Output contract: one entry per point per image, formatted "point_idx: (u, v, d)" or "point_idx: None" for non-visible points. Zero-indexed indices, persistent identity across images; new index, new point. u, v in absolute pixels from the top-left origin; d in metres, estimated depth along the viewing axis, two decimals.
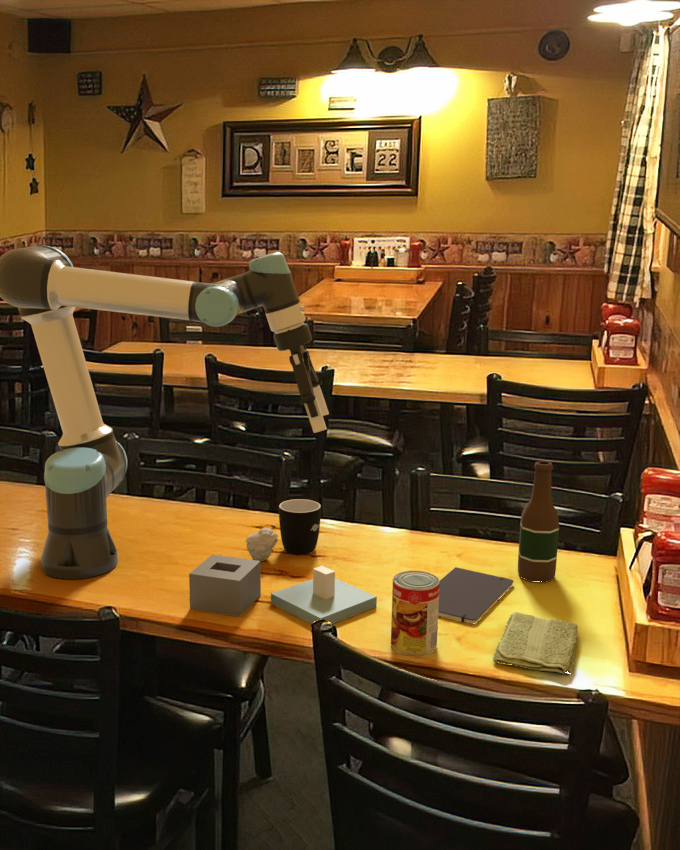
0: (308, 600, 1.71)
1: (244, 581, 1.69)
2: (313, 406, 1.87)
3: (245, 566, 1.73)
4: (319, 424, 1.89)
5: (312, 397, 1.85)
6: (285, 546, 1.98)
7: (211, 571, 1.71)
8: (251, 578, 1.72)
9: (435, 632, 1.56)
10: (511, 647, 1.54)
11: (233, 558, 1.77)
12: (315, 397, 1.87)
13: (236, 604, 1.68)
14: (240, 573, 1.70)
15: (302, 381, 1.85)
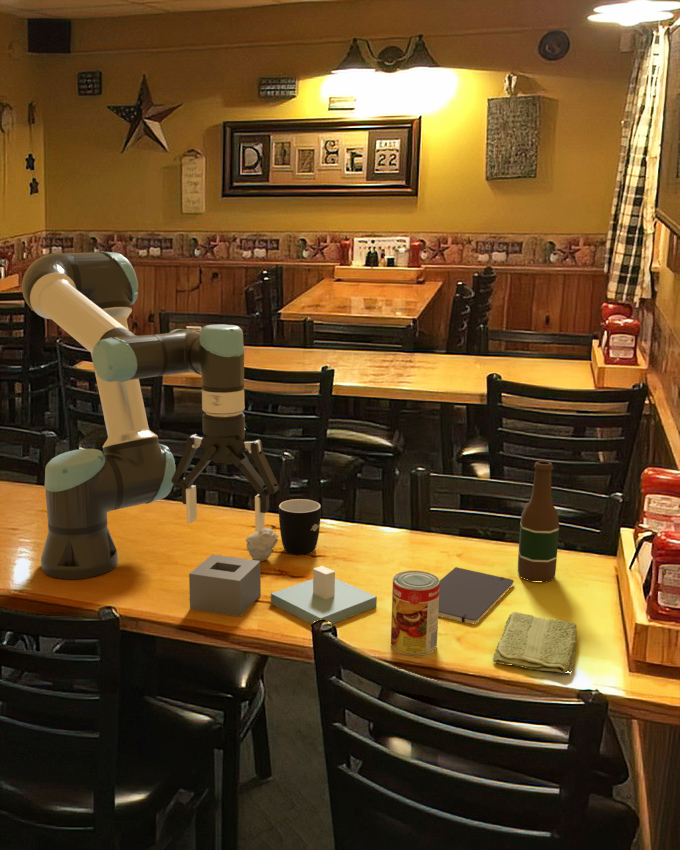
0: (308, 600, 1.71)
1: (244, 581, 1.69)
2: None
3: (245, 566, 1.73)
4: None
5: None
6: (285, 546, 1.98)
7: (211, 571, 1.71)
8: (251, 578, 1.72)
9: (435, 632, 1.56)
10: (511, 647, 1.54)
11: (233, 558, 1.77)
12: (182, 485, 1.70)
13: (236, 604, 1.68)
14: (240, 573, 1.70)
15: None
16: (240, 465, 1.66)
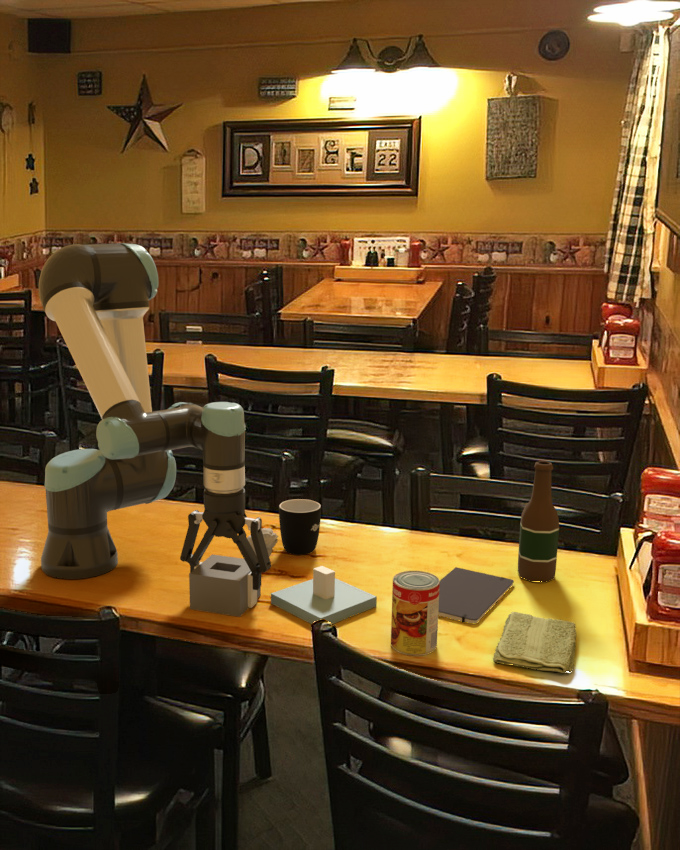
0: (308, 600, 1.71)
1: (244, 581, 1.69)
2: None
3: (245, 566, 1.73)
4: None
5: None
6: (285, 546, 1.98)
7: (211, 571, 1.71)
8: None
9: (435, 632, 1.56)
10: (511, 647, 1.54)
11: (233, 558, 1.77)
12: (190, 563, 1.73)
13: (236, 604, 1.68)
14: (240, 573, 1.70)
15: None
16: (238, 541, 1.69)
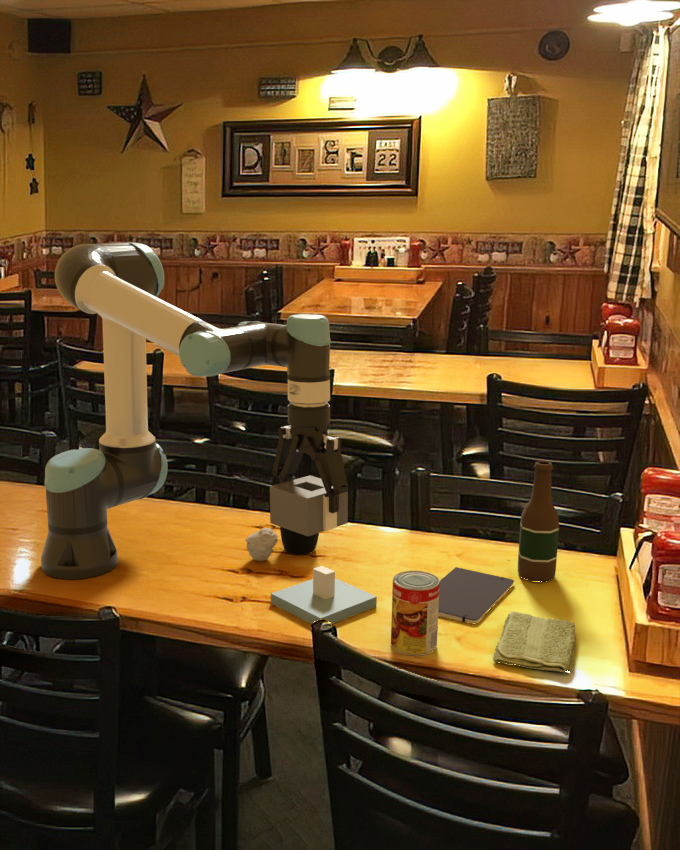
0: (308, 600, 1.71)
1: (317, 500, 1.63)
2: None
3: None
4: None
5: None
6: (285, 546, 1.98)
7: (291, 487, 1.67)
8: None
9: (435, 632, 1.56)
10: (511, 647, 1.54)
11: None
12: (280, 479, 1.71)
13: (305, 523, 1.63)
14: (316, 492, 1.64)
15: None
16: (315, 459, 1.64)
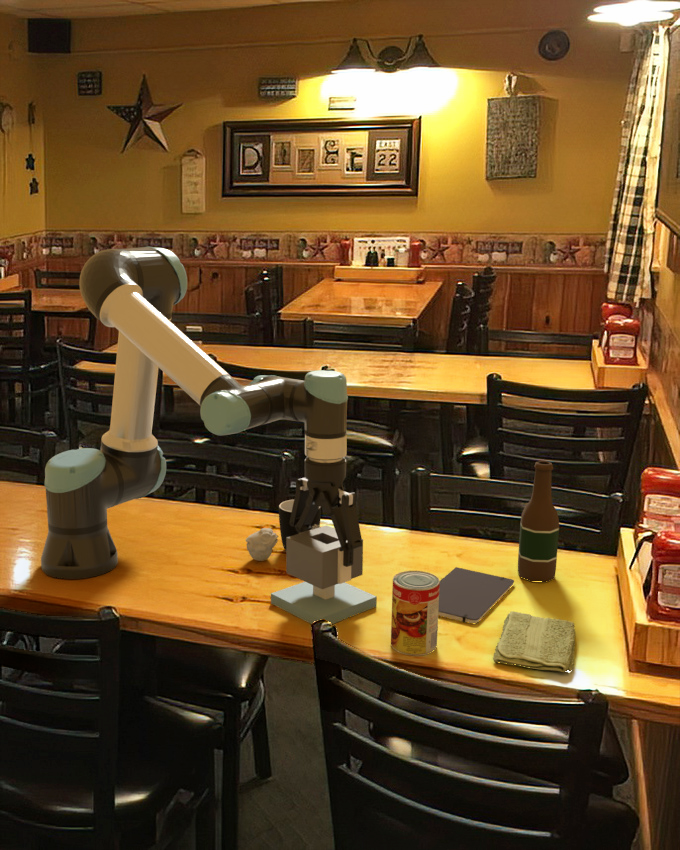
0: (308, 600, 1.71)
1: (332, 554, 1.66)
2: None
3: None
4: None
5: None
6: (285, 546, 1.98)
7: (307, 539, 1.70)
8: None
9: (435, 632, 1.56)
10: (511, 647, 1.54)
11: None
12: (296, 529, 1.74)
13: (320, 576, 1.65)
14: (331, 546, 1.67)
15: None
16: (331, 513, 1.66)
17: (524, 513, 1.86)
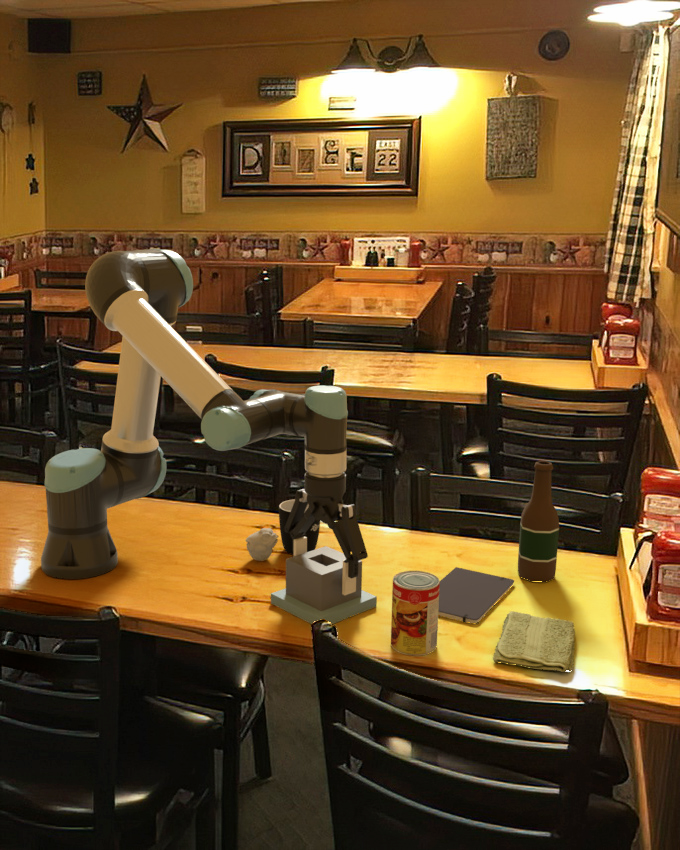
0: None
1: (331, 576, 1.67)
2: None
3: (342, 563, 1.70)
4: None
5: None
6: (285, 546, 1.98)
7: (307, 561, 1.71)
8: None
9: (435, 632, 1.56)
10: (511, 647, 1.54)
11: (340, 553, 1.75)
12: (291, 535, 1.76)
13: (319, 598, 1.66)
14: (330, 568, 1.68)
15: None
16: (332, 527, 1.66)
17: (524, 513, 1.86)
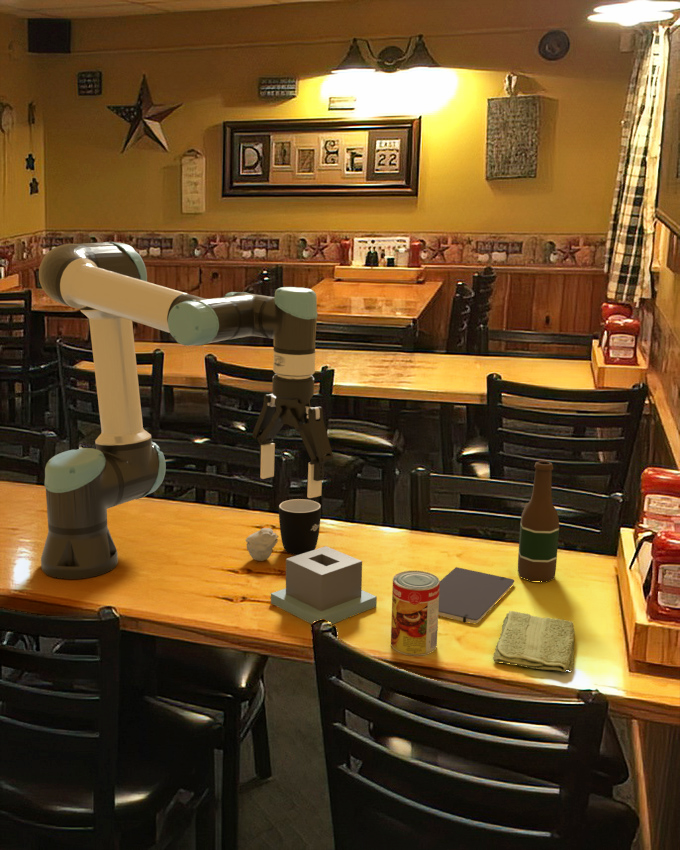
0: None
1: (331, 576, 1.67)
2: None
3: (342, 563, 1.70)
4: None
5: None
6: (285, 546, 1.98)
7: (307, 561, 1.71)
8: (344, 576, 1.69)
9: (435, 632, 1.56)
10: (511, 647, 1.54)
11: (340, 553, 1.75)
12: (258, 441, 1.75)
13: (319, 598, 1.66)
14: (330, 568, 1.68)
15: None
16: (299, 429, 1.66)
17: (524, 513, 1.86)
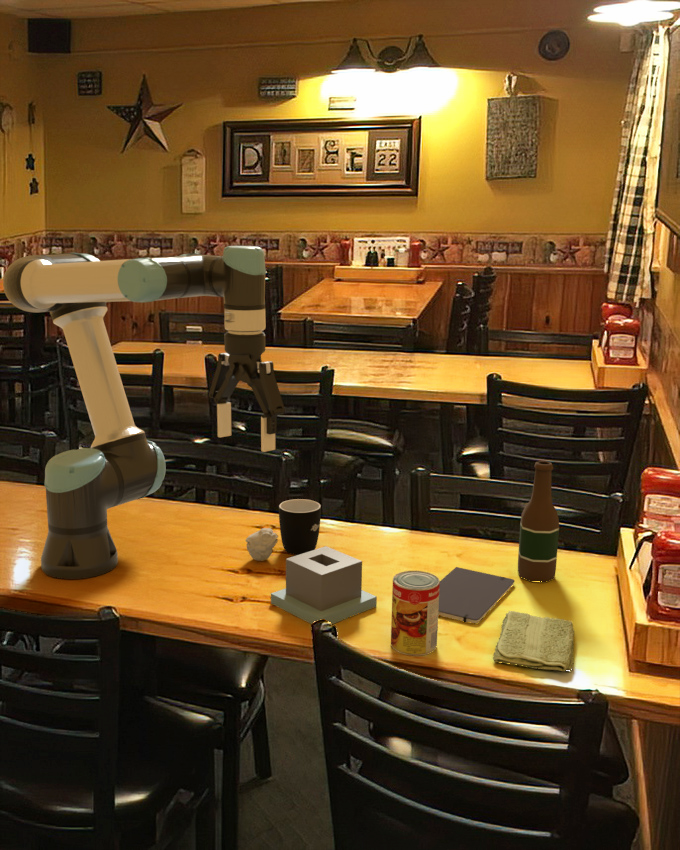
0: None
1: (331, 576, 1.67)
2: None
3: (342, 563, 1.70)
4: None
5: None
6: (285, 546, 1.98)
7: (307, 561, 1.71)
8: (344, 576, 1.69)
9: (435, 632, 1.56)
10: (510, 647, 1.54)
11: (340, 553, 1.75)
12: (215, 400, 1.79)
13: (319, 598, 1.66)
14: (330, 568, 1.68)
15: None
16: (251, 384, 1.69)
17: (524, 513, 1.86)
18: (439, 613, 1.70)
